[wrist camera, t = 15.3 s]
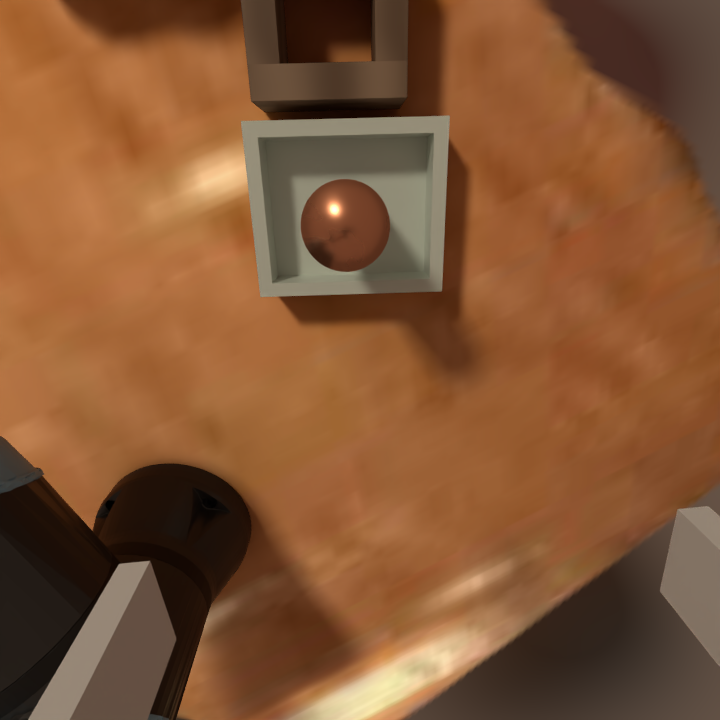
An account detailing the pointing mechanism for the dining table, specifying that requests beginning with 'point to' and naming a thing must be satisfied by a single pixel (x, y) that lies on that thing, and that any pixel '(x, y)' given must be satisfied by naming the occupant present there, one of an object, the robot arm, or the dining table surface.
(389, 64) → the block
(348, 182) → the pin
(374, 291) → the tray
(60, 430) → the dining table surface
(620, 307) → the dining table surface
